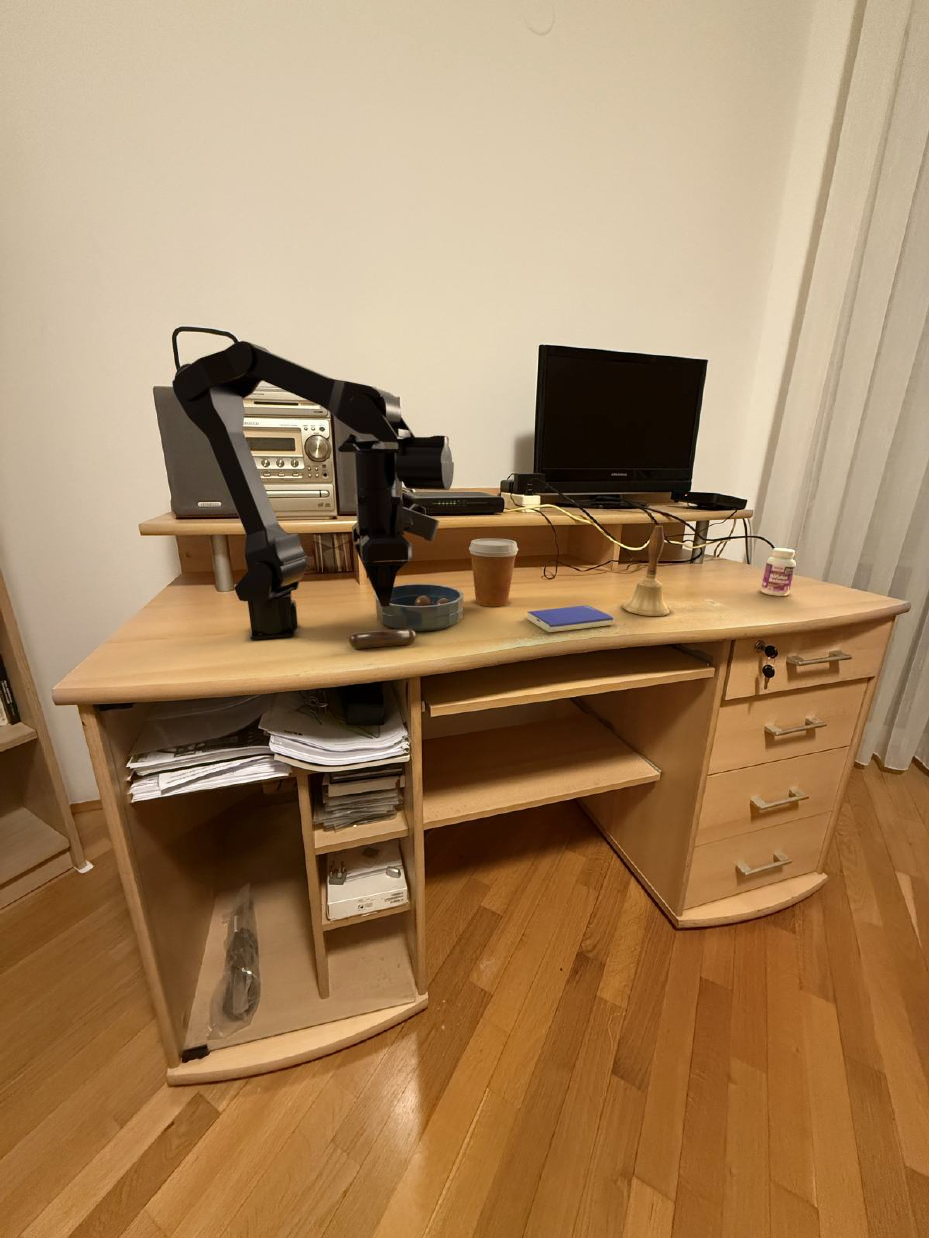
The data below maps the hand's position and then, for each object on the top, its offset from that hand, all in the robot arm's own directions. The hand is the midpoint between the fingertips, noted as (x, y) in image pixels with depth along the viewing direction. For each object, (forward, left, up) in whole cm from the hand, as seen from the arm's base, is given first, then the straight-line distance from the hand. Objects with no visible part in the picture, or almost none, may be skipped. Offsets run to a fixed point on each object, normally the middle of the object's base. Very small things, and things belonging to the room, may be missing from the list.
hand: (380, 597), depth 72 cm
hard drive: (+33, +3, -8) cm, 34 cm away
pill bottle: (+87, +10, -8) cm, 88 cm away
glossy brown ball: (+10, +12, -5) cm, 17 cm away
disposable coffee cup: (+24, +18, -8) cm, 31 cm away
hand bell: (+51, +6, -8) cm, 52 cm away
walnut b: (+13, +10, -4) cm, 17 cm away
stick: (0, -1, -7) cm, 7 cm away
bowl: (+8, +11, -7) cm, 15 cm away
